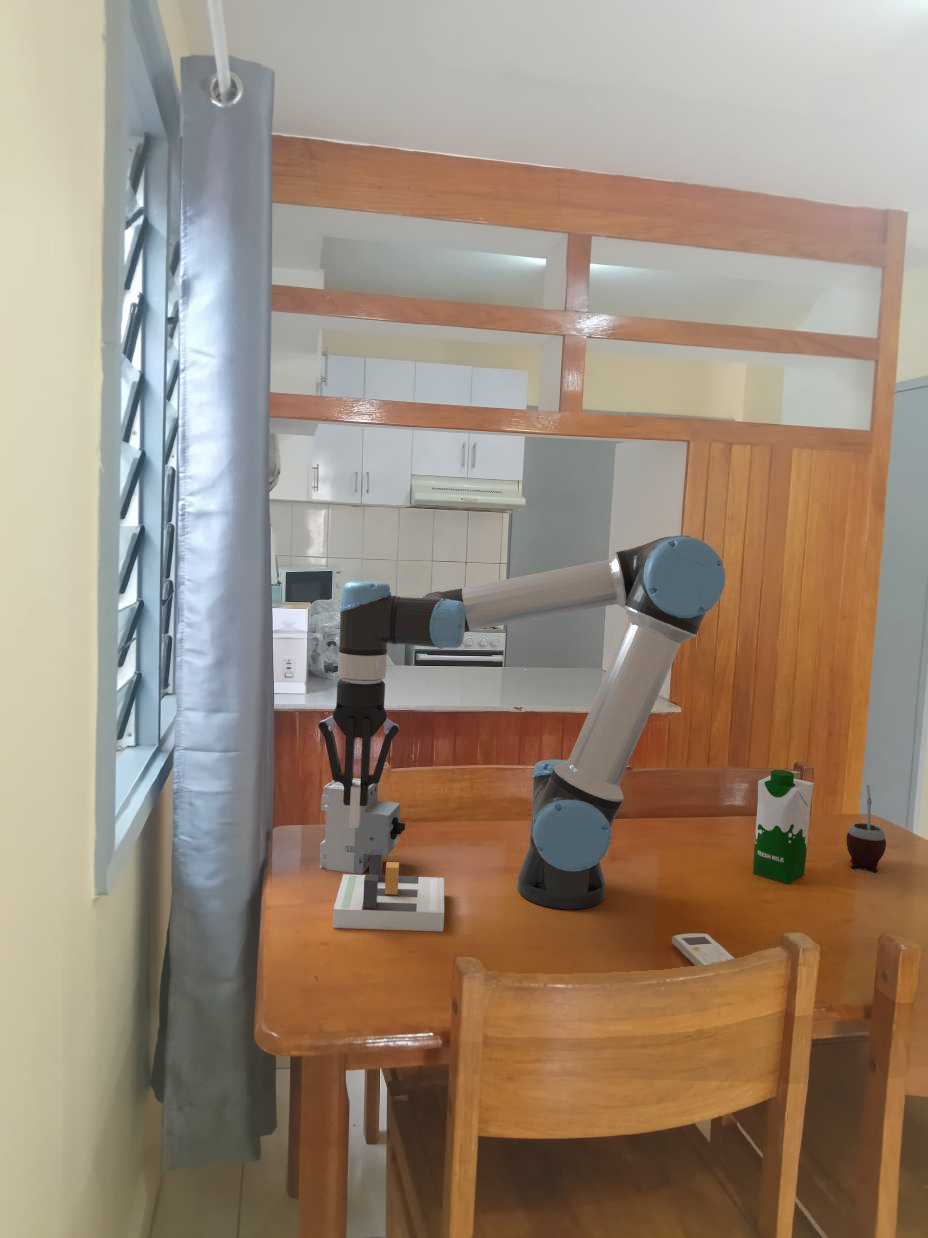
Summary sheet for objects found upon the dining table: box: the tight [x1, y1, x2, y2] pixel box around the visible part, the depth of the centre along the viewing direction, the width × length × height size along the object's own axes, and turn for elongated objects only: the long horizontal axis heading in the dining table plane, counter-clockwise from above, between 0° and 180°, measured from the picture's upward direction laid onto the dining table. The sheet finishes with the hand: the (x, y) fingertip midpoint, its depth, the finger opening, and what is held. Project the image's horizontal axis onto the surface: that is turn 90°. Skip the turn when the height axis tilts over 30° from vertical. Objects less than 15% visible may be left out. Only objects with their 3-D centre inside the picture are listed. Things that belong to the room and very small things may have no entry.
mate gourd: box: [846, 784, 887, 874], centre depth 174 cm, size 8×8×15 cm
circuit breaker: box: [319, 777, 406, 875], centre depth 162 cm, size 8×14×15 cm, turn 78°
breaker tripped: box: [385, 861, 400, 895], centre depth 144 cm, size 2×2×4 cm
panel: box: [332, 873, 445, 932], centre depth 144 cm, size 17×14×3 cm
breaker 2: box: [363, 873, 378, 908], centre depth 138 cm, size 2×2×4 cm
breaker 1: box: [368, 849, 384, 881], centre depth 149 cm, size 2×2×4 cm
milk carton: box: [752, 769, 815, 885], centre depth 167 cm, size 9×9×20 cm
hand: (354, 824), depth 143 cm, fingers closed
